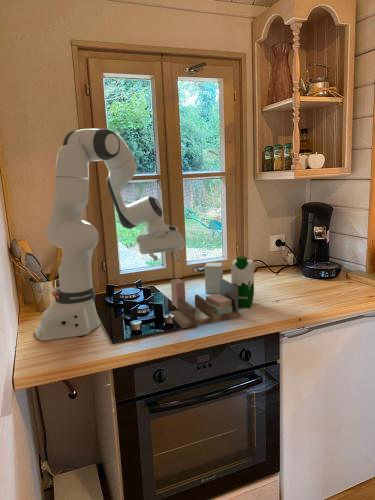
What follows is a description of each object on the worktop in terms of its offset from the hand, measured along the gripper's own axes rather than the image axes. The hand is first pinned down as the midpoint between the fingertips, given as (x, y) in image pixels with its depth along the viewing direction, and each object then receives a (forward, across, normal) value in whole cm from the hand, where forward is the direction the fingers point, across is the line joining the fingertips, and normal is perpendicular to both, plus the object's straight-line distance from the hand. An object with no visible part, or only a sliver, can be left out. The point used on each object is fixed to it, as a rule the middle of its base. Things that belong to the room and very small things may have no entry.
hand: (166, 259), depth 161 cm
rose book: (+21, 0, +4) cm, 21 cm away
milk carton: (+28, +24, -3) cm, 37 cm away
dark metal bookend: (+30, +15, -7) cm, 34 cm away
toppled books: (+30, +11, -7) cm, 33 cm away
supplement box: (+13, +22, +12) cm, 28 cm away
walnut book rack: (+31, +5, -6) cm, 32 cm away
